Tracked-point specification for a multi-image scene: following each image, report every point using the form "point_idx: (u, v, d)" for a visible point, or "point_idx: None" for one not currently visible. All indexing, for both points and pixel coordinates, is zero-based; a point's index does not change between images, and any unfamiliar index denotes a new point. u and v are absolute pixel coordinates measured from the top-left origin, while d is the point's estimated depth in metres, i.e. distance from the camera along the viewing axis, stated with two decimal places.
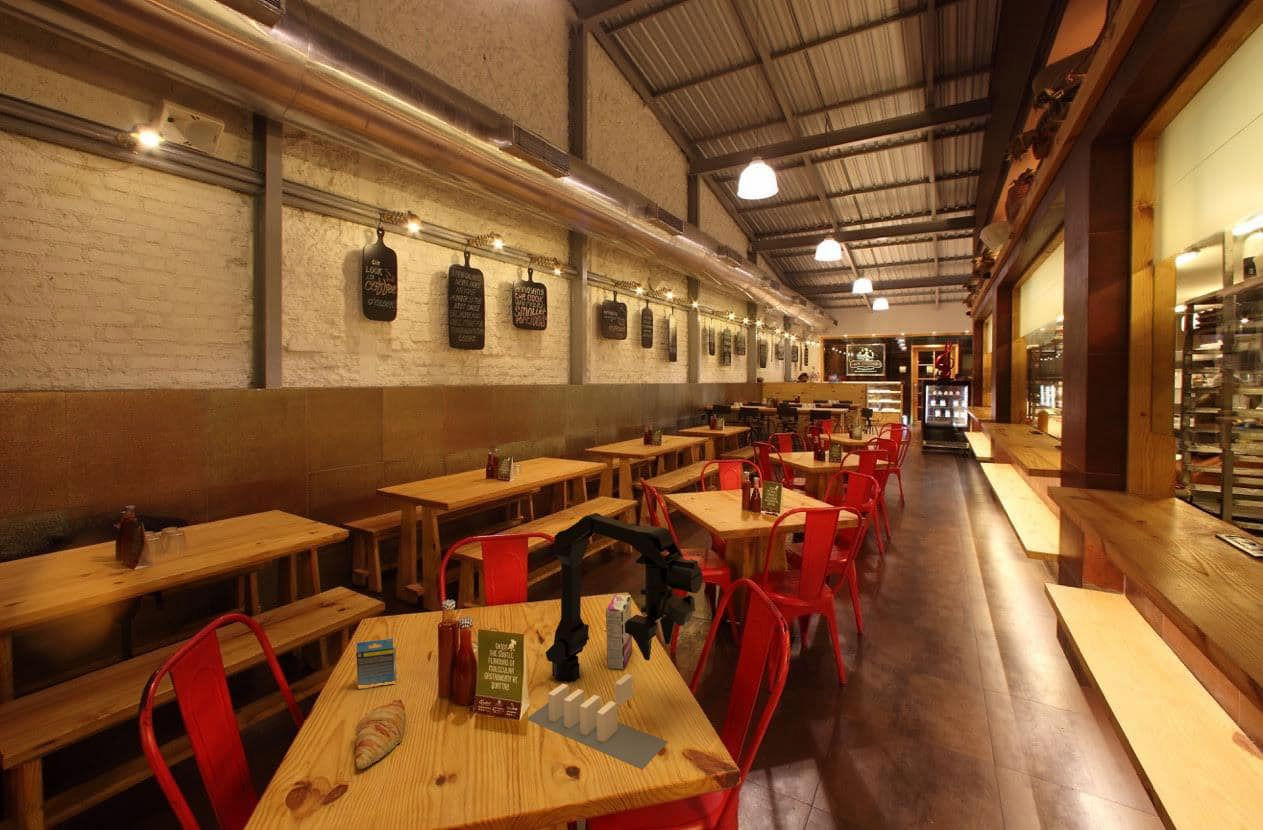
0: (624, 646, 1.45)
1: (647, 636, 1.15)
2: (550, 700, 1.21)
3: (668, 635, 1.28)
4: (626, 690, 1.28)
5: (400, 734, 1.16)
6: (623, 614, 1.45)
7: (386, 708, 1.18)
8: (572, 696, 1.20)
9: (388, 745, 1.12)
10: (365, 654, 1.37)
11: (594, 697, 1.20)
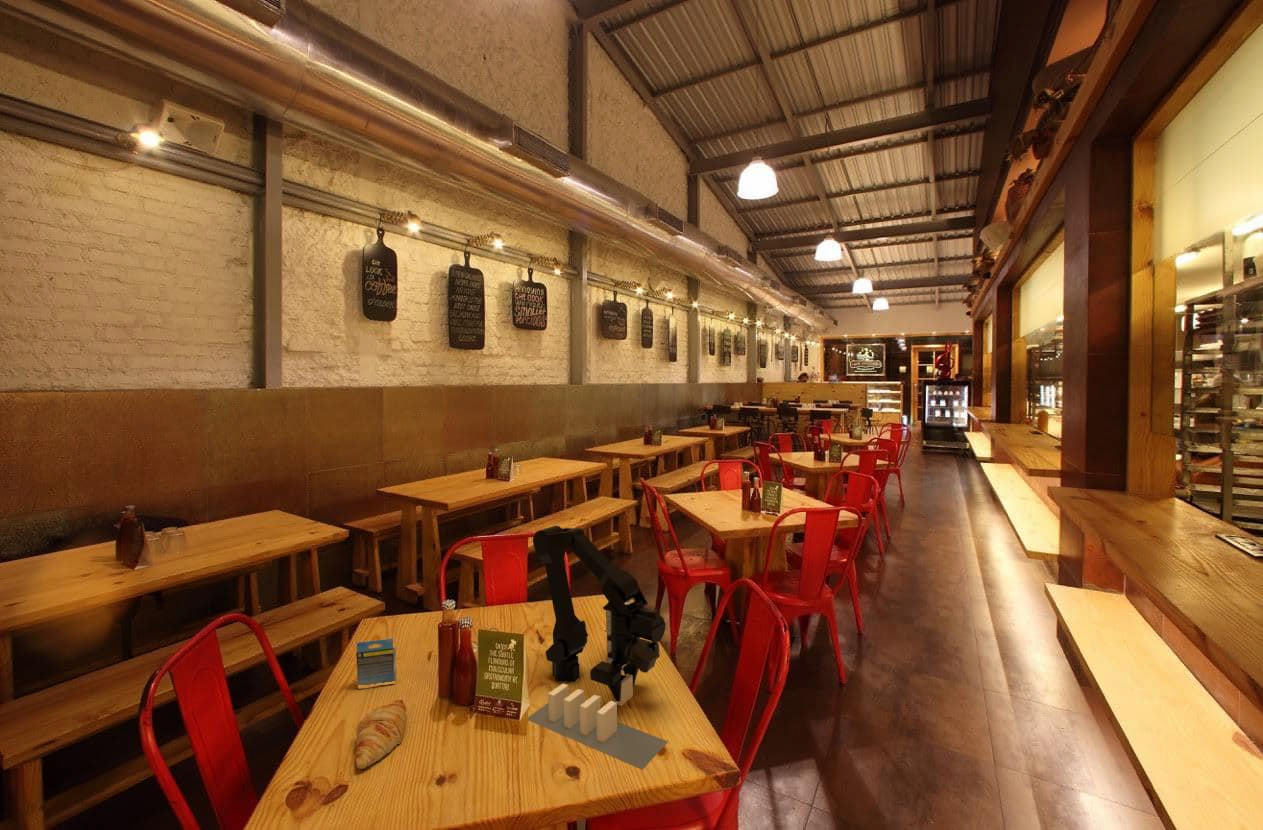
0: None
1: (611, 684, 1.20)
2: (550, 700, 1.21)
3: None
4: (626, 690, 1.28)
5: (400, 734, 1.16)
6: None
7: (387, 708, 1.18)
8: (572, 696, 1.20)
9: (388, 745, 1.12)
10: (365, 654, 1.37)
11: (594, 697, 1.20)
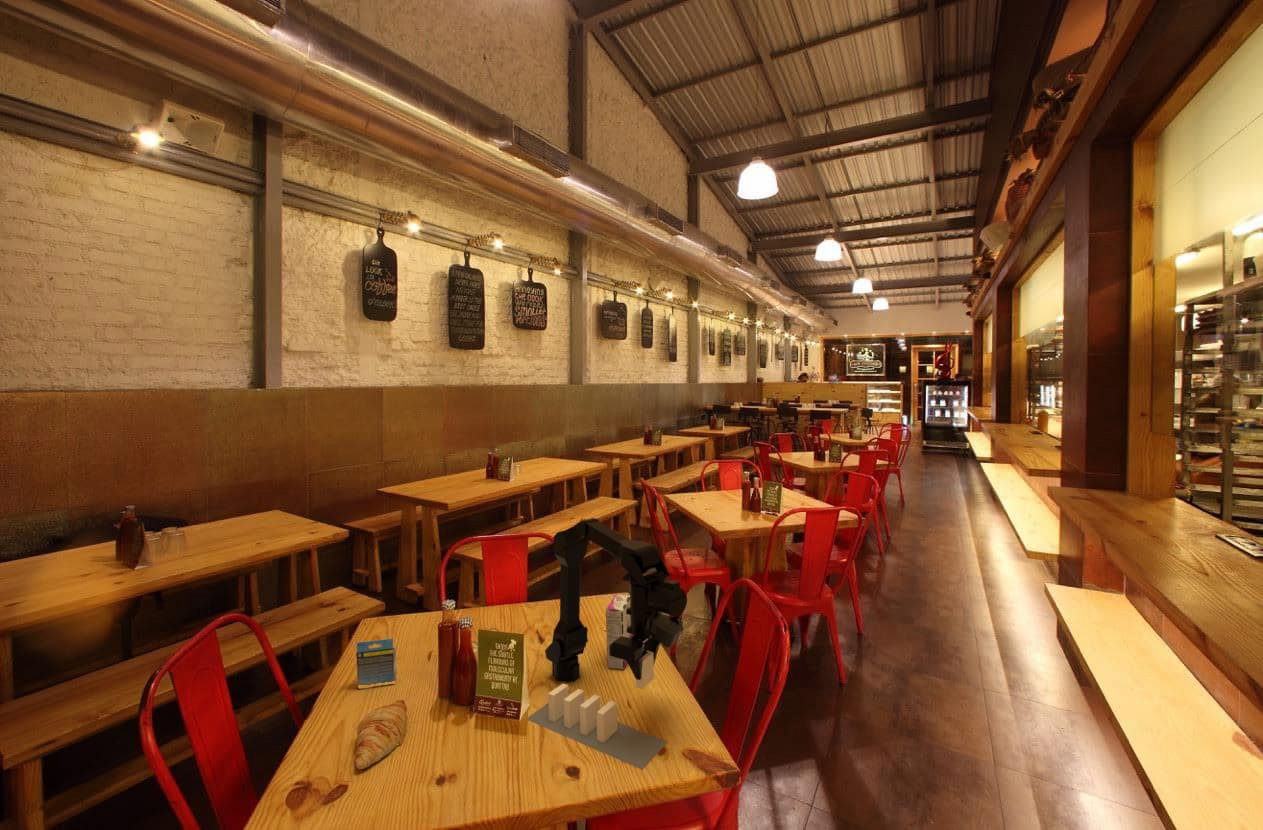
0: None
1: (633, 659, 1.10)
2: (550, 700, 1.21)
3: None
4: (647, 668, 1.19)
5: (401, 735, 1.16)
6: (623, 614, 1.45)
7: (387, 708, 1.18)
8: (572, 696, 1.20)
9: (388, 745, 1.12)
10: (365, 654, 1.37)
11: (594, 697, 1.20)
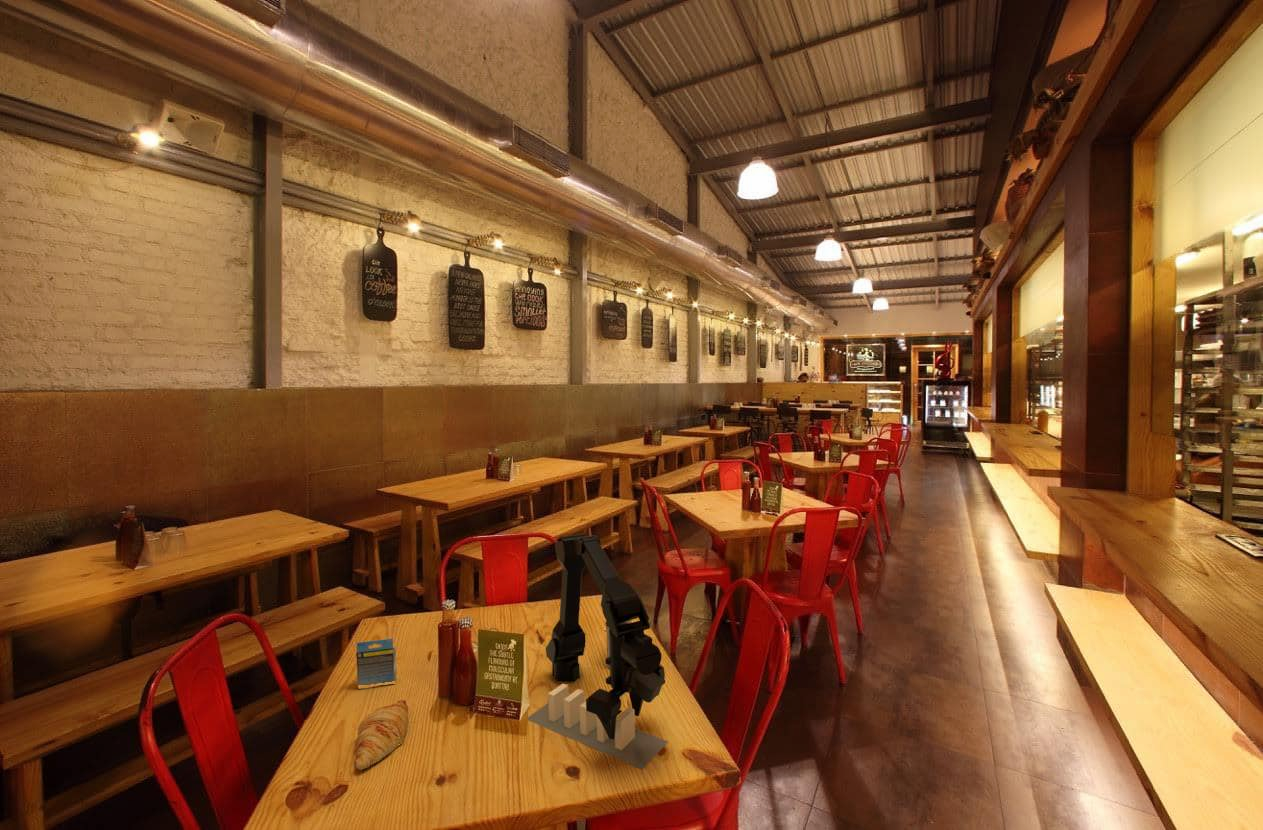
0: None
1: (610, 716, 1.04)
2: (550, 700, 1.21)
3: (637, 707, 1.17)
4: (627, 727, 1.13)
5: (401, 735, 1.15)
6: None
7: (388, 709, 1.18)
8: (572, 696, 1.20)
9: (388, 746, 1.11)
10: (365, 654, 1.37)
11: None
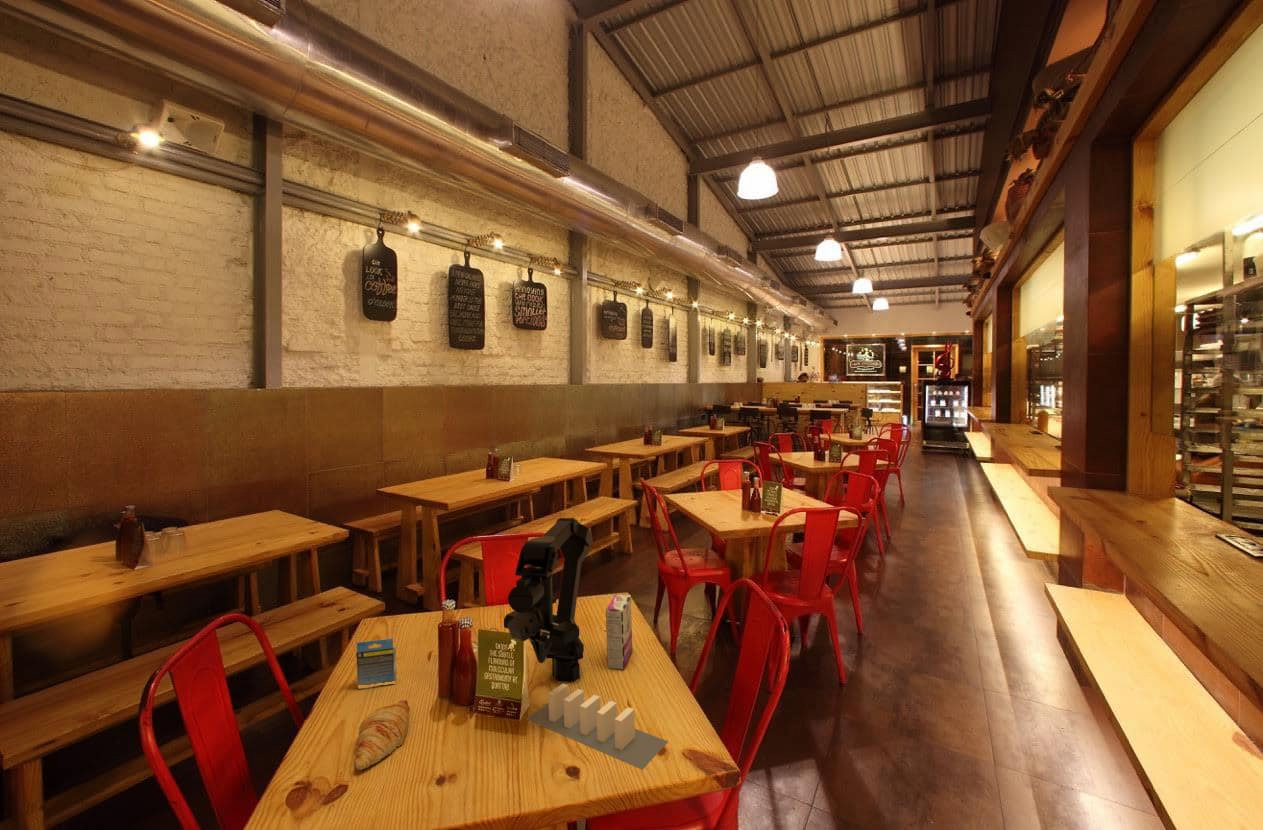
0: (624, 646, 1.45)
1: None
2: (550, 700, 1.21)
3: None
4: (627, 727, 1.13)
5: (401, 736, 1.15)
6: (623, 614, 1.45)
7: (389, 709, 1.18)
8: (572, 696, 1.20)
9: (388, 747, 1.11)
10: (365, 654, 1.37)
11: (594, 697, 1.20)
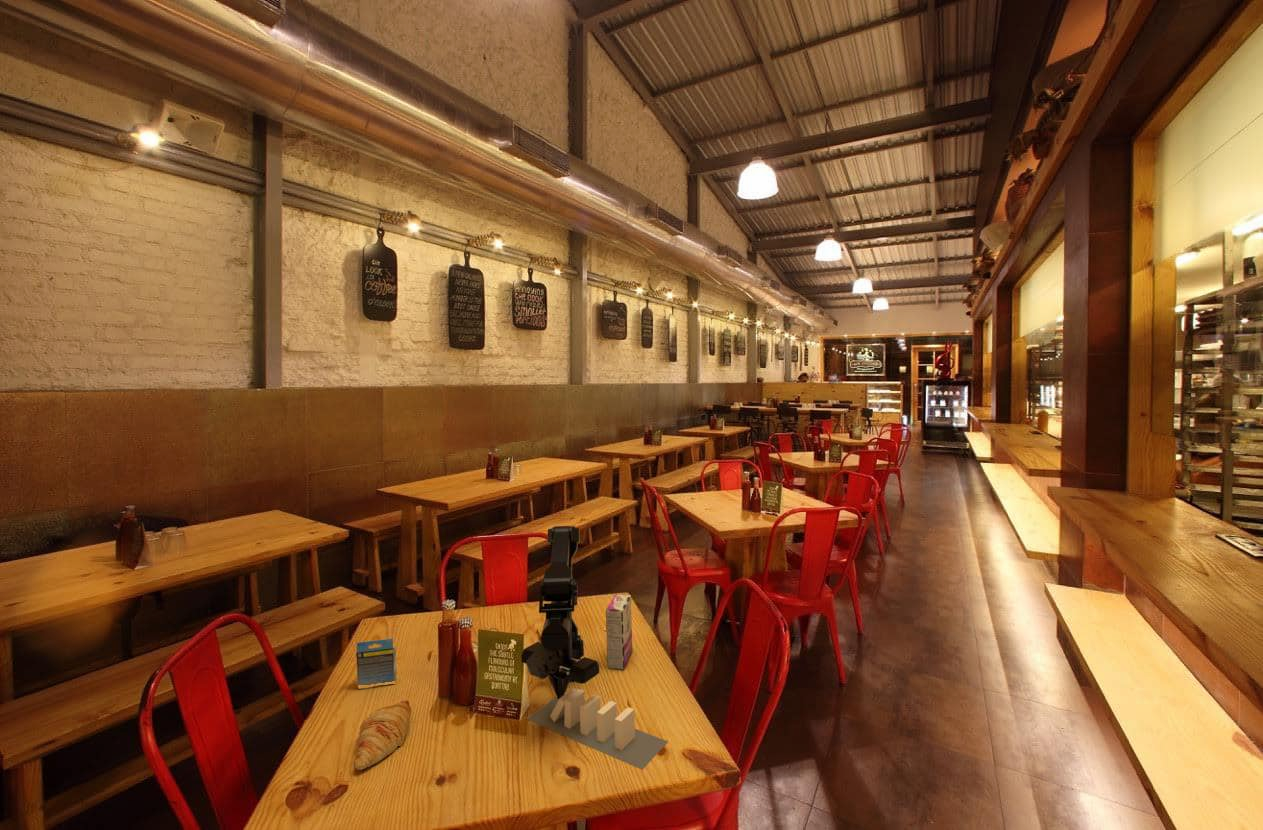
0: (624, 646, 1.45)
1: None
2: (559, 704, 1.20)
3: None
4: (627, 727, 1.13)
5: (402, 736, 1.15)
6: (623, 614, 1.45)
7: (389, 709, 1.18)
8: (573, 696, 1.20)
9: (388, 747, 1.11)
10: (365, 654, 1.37)
11: (594, 697, 1.20)
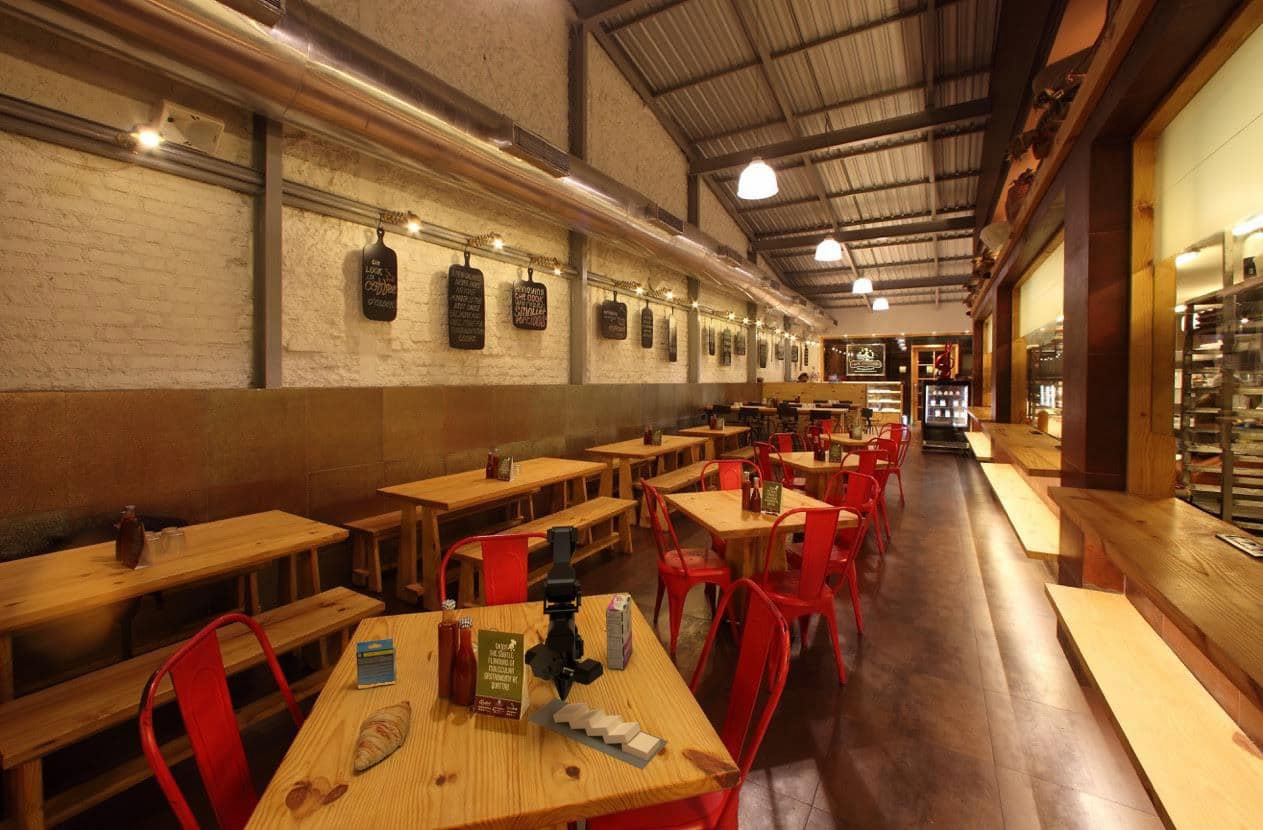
0: (624, 646, 1.45)
1: None
2: (568, 716, 1.18)
3: None
4: None
5: (402, 737, 1.15)
6: (623, 614, 1.45)
7: (390, 709, 1.17)
8: (596, 719, 1.17)
9: (388, 747, 1.11)
10: (365, 654, 1.37)
11: (618, 720, 1.16)
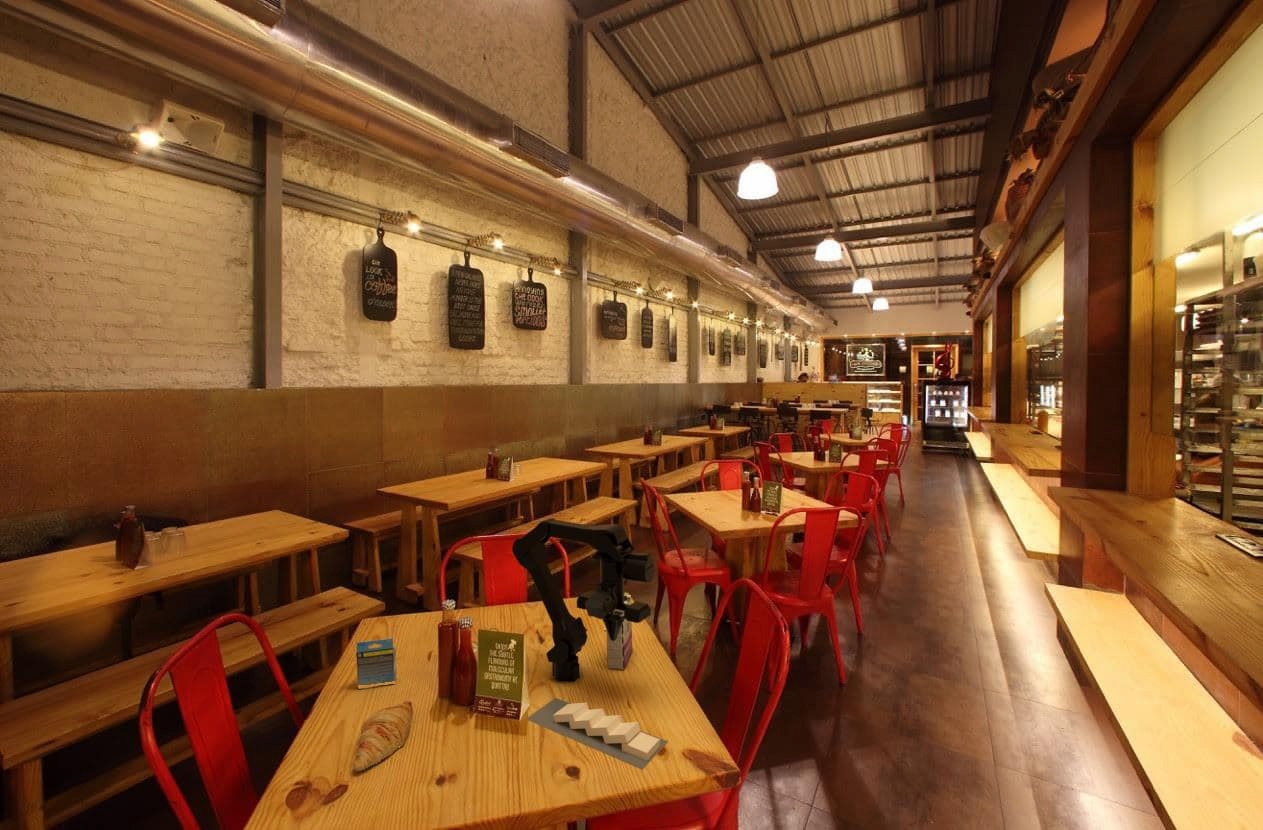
0: (624, 646, 1.45)
1: None
2: (568, 716, 1.18)
3: None
4: None
5: (402, 738, 1.15)
6: None
7: (390, 710, 1.17)
8: (596, 719, 1.17)
9: (388, 748, 1.11)
10: (365, 654, 1.37)
11: (618, 720, 1.16)
